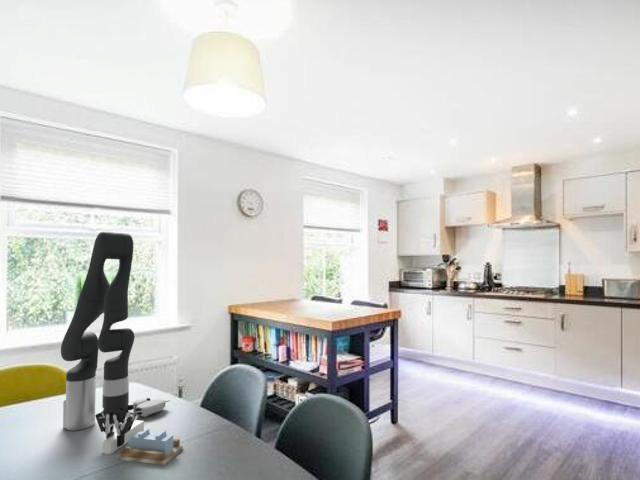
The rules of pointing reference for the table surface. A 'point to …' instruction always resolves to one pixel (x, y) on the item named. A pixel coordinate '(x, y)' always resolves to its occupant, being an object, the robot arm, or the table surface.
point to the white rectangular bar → (111, 442)
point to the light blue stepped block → (152, 441)
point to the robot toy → (147, 406)
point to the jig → (150, 454)
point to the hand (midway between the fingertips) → (115, 445)
